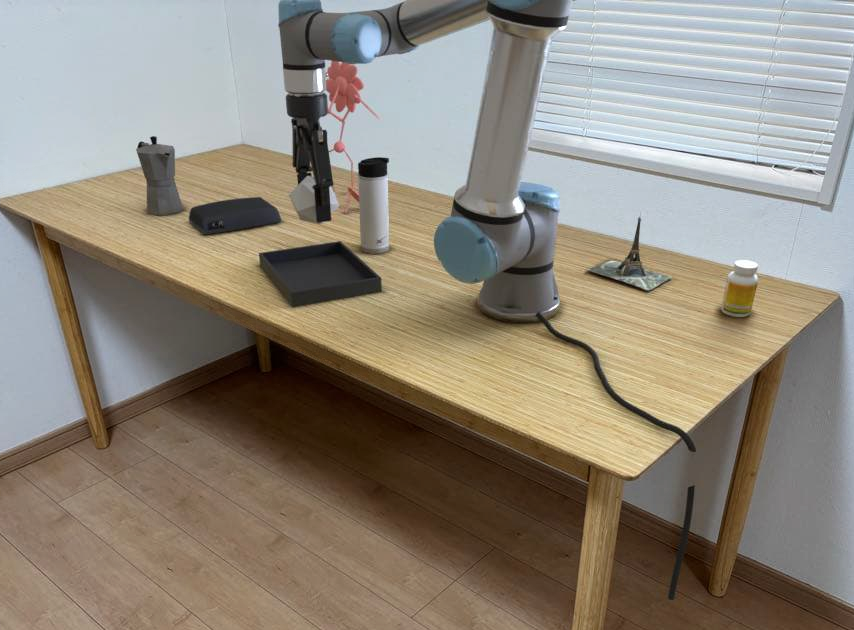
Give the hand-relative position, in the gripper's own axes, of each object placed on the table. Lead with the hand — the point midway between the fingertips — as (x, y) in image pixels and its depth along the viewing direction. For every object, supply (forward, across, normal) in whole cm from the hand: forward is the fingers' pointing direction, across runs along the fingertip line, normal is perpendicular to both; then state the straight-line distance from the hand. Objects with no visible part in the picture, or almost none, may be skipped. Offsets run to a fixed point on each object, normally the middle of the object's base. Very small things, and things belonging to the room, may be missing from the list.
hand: (315, 213), depth 156 cm
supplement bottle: (+14, -48, -66) cm, 83 cm away
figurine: (+13, +45, -24) cm, 53 cm away
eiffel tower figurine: (+14, -25, -59) cm, 65 cm away
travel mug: (+14, +11, -17) cm, 24 cm away
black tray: (+13, 0, 0) cm, 13 cm away
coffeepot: (+13, +60, +21) cm, 65 cm away
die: (+1, 0, 0) cm, 1 cm away
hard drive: (+13, +42, +7) cm, 45 cm away
